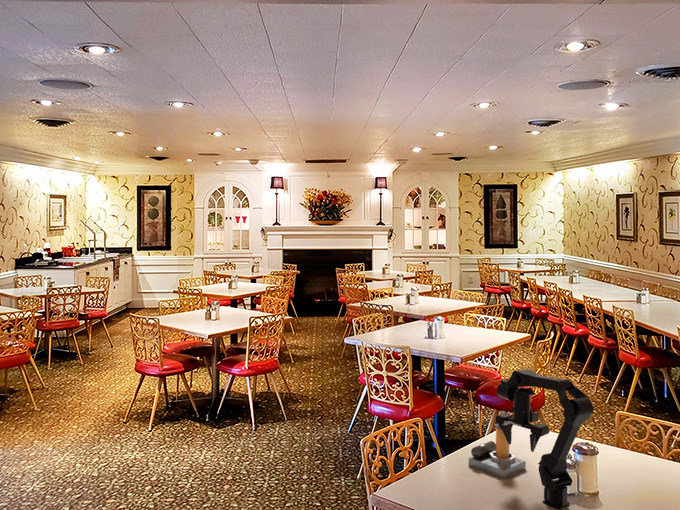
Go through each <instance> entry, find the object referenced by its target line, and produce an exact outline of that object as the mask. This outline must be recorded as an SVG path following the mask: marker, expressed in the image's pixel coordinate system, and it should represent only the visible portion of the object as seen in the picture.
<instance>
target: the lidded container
mask: <svg viewBox="0 0 680 510" xmlns="http://www.w3.org/2000/svg"><path fill="white" fill-rule="evenodd" d="M495 424H496V425H495V444H496V457H498V458H504V459H508V458H509V452H510V445H509V444H508V442H507V440H506V438H505V435H504V433H503V432H502V430H501V428H500V427H499V426H498V424H497V423H495Z"/></svg>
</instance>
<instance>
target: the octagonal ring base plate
mask: <svg viewBox="0 0 680 510" xmlns="http://www.w3.org/2000/svg"><path fill="white" fill-rule="evenodd" d="M470 451H471V456H469V457H468V466H470V467H473V468H476V469H477V470H480V471H483V472H486V473H488V474H491V475H493V476H495V477H499V478H500V479H508V478H510V477H511V476H513V475H517V474H518V473H519V472H522V471H523V470H524V471H525V470H526V467H527V466H526V465H527V461H526V460H524V459H521V458H518V457H516V456H515V454H514V453H512V452H510V451H509V458H508V459H504V458H498V457H496V442H495V441H492V440H490V441H487V442H485V443H481V444H480V445H476V446H475V447H472V448H471V450H470Z"/></svg>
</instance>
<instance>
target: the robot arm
mask: <svg viewBox="0 0 680 510" xmlns="http://www.w3.org/2000/svg"><path fill="white" fill-rule="evenodd" d="M532 387H534V388H540V389H545V390H548V391H555V392H556V393H557V395H558V400H559V404H560V405H561V407H562V408H563V412H562V414H563V418H564V419H563V420H564V421H563V423H562V425H561V428H560V430H559V433H558V434H557V437H556V440H555V442H554V444H553V446H552V449H551V451H550V452H549V453H544V454H542V455H541V457H540V461H539V462H538V463H537V464H538V473H539V477H540V482H541V486H543V487H544V488H543V499H544V500H542V503H543V504H544V505H547V506H550V507H552V508H555V509H557V510H562V509H564V508H566V507H568V506H569V505H570V501H568V492H569V491H568V490H569V489H568V487H571V486H572V484H573V479H572V478H571V475H570V474H569V472H568V470H567V469H568V464H567V457H568V455H569V453H570V450H571V448H572V445H573V443H574V441H575V440H576V437H577V434H578V432H579V430H580V428H581V426H582V425H583V424H584V423H585V422H587V421H588V420H589V419H590V417H591V416H592V415H593V414H594V408H595V407H594V405H593V403H592V401H591V400H590V399H589V398H588V396H587V395H586V393H585V392H584V391H582V390H581V389H579V388H578V387H577V386H575V385H574V383H573V382H572V381H571V380H570V379H569V378H568V379H567V378H565V379H564V378H557V377H553V376H552V377H551V376H547V375H542V374H541V375H540V374H538V373H537V372H535V371H533V370H531V369H529V368H527V369H518V370H513V371H512V372H511V376H510V377H509V378H508V380H507V379H501V380H500V383H499V384H498V385H497V387H496V390H495V391H496V395H497V397H499V398H502V399H504V400H506V401H509V402H513V406H512V407H510V408H511V409H510V410H511V411H512V412H513V413H512V414H513V415H512V414H509V413H506V412H505V413H504V412H502V413H500V414H497V415H496V416H495V417H494V423H495V424H498V426H499V427H500V428H501V430H502V432H503V433H504V435H505V438H506V440H507V442H508V444H509V446H510V445H511V444H512V440H513V439H512V433H513V432H512V429H513V426H517V427H520V428H522V429H523V428H524V429H527V430H530V432H529V433H530V434H529V444H530V452H531V453H534V452H535V450H536V447H537V445H538V442H539V440H540V438H541V437H544V436H546V435H548V434H550V427H549V426H548V424H546V423H545V424H544V423H540V422H539V418H540V413H538V412H536V411H533V407H531V396H534V395H536V392H535V391H534V389H532ZM567 393H568V394H569V395H570V396H571V397H573V399H570V398H569V397H568V395H567ZM534 422H535V423H534ZM532 423H534V424H532Z"/></svg>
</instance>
